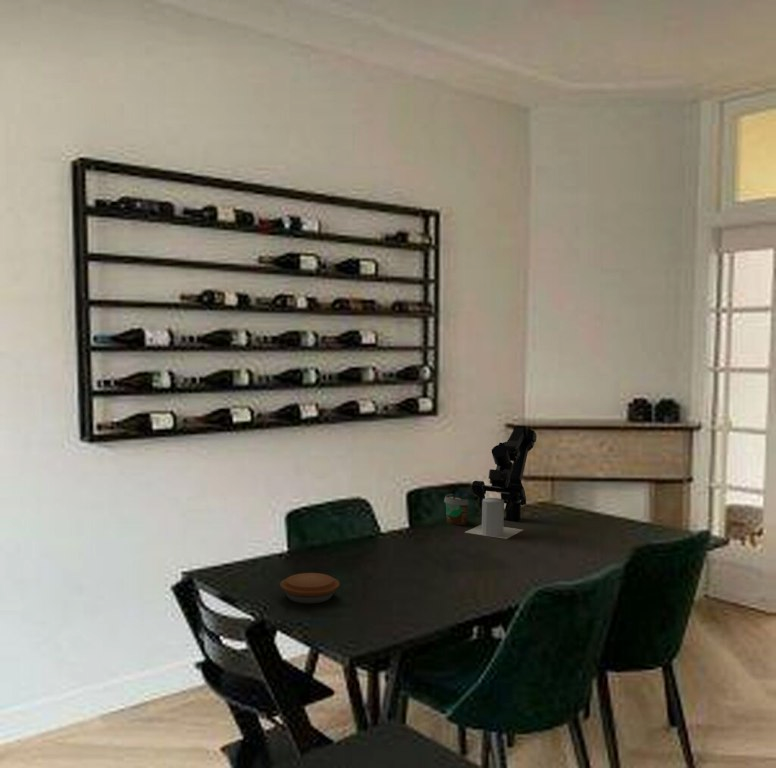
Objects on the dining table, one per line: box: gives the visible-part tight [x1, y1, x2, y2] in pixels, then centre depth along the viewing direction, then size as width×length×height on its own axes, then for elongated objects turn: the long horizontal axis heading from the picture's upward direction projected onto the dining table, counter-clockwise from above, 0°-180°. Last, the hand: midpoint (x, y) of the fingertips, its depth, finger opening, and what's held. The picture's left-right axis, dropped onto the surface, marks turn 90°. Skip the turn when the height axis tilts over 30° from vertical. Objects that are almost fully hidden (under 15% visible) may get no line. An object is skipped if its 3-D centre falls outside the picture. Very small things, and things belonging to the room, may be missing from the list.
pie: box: [279, 572, 341, 605], centre depth 203 cm, size 15×16×5 cm
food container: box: [443, 493, 470, 526], centre depth 289 cm, size 12×6×10 cm, turn 25°
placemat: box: [464, 523, 523, 540], centre depth 277 cm, size 16×16×1 cm
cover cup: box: [481, 497, 505, 537], centre depth 273 cm, size 7×7×12 cm
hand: (493, 509), depth 273 cm, fingers open, 9 cm apart
